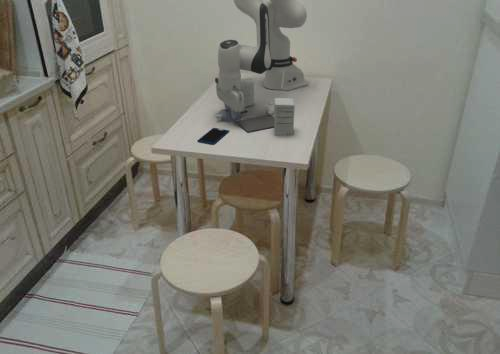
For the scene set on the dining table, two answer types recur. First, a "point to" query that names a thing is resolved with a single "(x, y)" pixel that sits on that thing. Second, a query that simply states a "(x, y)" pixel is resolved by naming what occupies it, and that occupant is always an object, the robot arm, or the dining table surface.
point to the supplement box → (284, 116)
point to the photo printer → (247, 91)
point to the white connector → (270, 108)
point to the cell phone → (213, 136)
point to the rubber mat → (256, 123)
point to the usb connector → (228, 115)
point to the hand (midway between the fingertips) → (230, 115)
